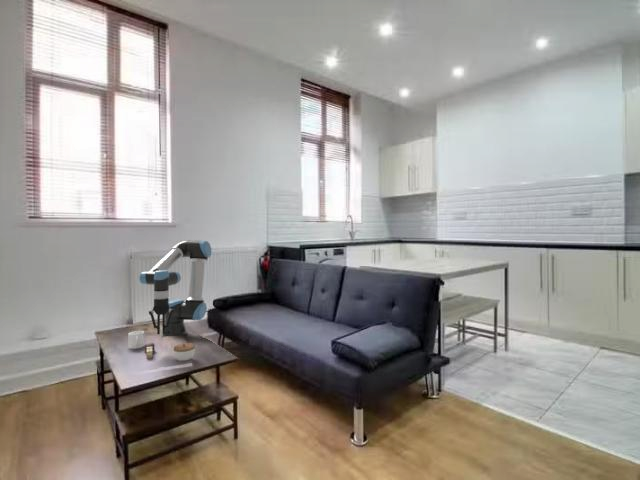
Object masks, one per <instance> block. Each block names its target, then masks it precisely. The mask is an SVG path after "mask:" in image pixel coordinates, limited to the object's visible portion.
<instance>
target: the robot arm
mask: <svg viewBox="0 0 640 480" xmlns="http://www.w3.org/2000/svg"><path fill="white" fill-rule="evenodd" d="M211 255H212V247H211V244H210V241H208V240H202V239H201V240H200V239H198V240H197V239H196V240H195V239H194V240H191V239H188V240H183V241H180V242H178V243H177V244H175V245H173V246H172V247H170V249H169V251H168V253H167V254H165V256H164V257H163V258H161V259H160V260H159V261H158V262H157V263H156V264H155V265H154V266H153V267H152V268H151V269H149V271H141V273H140V274H139V276H138V277H139V283H141V284H142V285H147V286H148V285H153V298H154V299H153V306H152V309H151V310H149V311H148V314H149V315H150V318H151V323H152V325H153V329H156V333H157V335H158V336H159V341H160V342H161V341H163V340H164V339H163V337H173V336H179V335H180V336H182V335H183V336H185V335H186V334H187V327H186V326H185V325H186V324H185V320H186V321H201V320H202V319H203V318H204V317H205V315H206V313H207V308H208V306H207V304H206V302H204V301H205V300H204V298H203V288H204V277H205V268H206V267H205V266H206V264H205V263H206V262H208V258H211ZM183 258H189V260H190V261H191V268H190V276H189V287H188V288H189V289H188V297H187V298H186V299H185V301H184V299H183V298H181V299H173V300H169V299H170V298H169V296H170V295H169V290H170V289H169V288H170V287H169V286H174V285H177V284H179V283H180V282H181V279H182V278H181V275H180V273H179V272H178V271H169V270H170V269H171V268H172V267H173V266H174V265H175V263H177V262H178V261H180V260H182V259H183ZM154 313H155V314H156V315H157V319H156V318H155V317H154ZM161 316H162V318H161ZM156 321H157V323H156ZM161 321H162V325H161ZM160 326H162V327H160Z"/></svg>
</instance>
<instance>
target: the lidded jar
mask: <svg viewBox="0 0 640 480" xmlns="http://www.w3.org/2000/svg"><path fill="white" fill-rule="evenodd" d="M195 346H196V345H195V344H194V343H190V342H189V343H188V342H187V343H186V342H184V343H180V344H176V345H175V346H174V347H173V356H174V358H175V360H176V361H180V362H182V361H189V360H192V359H193V357H194V355H195Z"/></svg>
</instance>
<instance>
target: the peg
mask: <svg viewBox="0 0 640 480" xmlns="http://www.w3.org/2000/svg"><path fill="white" fill-rule="evenodd" d="M154 352H155V343H154V342H153V343H152V342H150V343H146V344H145V343H144V353H145V354H146V359H152V358H153V353H154Z"/></svg>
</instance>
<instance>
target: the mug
mask: <svg viewBox="0 0 640 480" xmlns="http://www.w3.org/2000/svg"><path fill="white" fill-rule="evenodd" d="M144 332H145V331H144V330H134V331H130V332H128V336H127V337H128V338H127V339H128V346H127V347H128V349H129V350H130V349H132V350H134V349H135V350H137V349H140V348H143V347H145V333H144Z"/></svg>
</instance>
